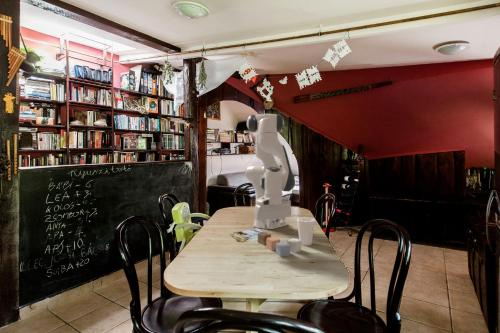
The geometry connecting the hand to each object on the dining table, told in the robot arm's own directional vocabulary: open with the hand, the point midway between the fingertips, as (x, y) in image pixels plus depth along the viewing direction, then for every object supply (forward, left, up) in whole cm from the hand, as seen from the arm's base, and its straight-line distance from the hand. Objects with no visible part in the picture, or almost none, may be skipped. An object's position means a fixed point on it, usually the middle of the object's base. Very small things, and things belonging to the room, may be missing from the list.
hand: (273, 226), depth 147 cm
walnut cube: (0, -9, -11) cm, 15 cm away
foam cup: (-19, +2, -11) cm, 22 cm away
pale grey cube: (-8, +7, -11) cm, 15 cm away
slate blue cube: (0, +9, -11) cm, 14 cm away
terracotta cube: (0, 0, -11) cm, 11 cm away
